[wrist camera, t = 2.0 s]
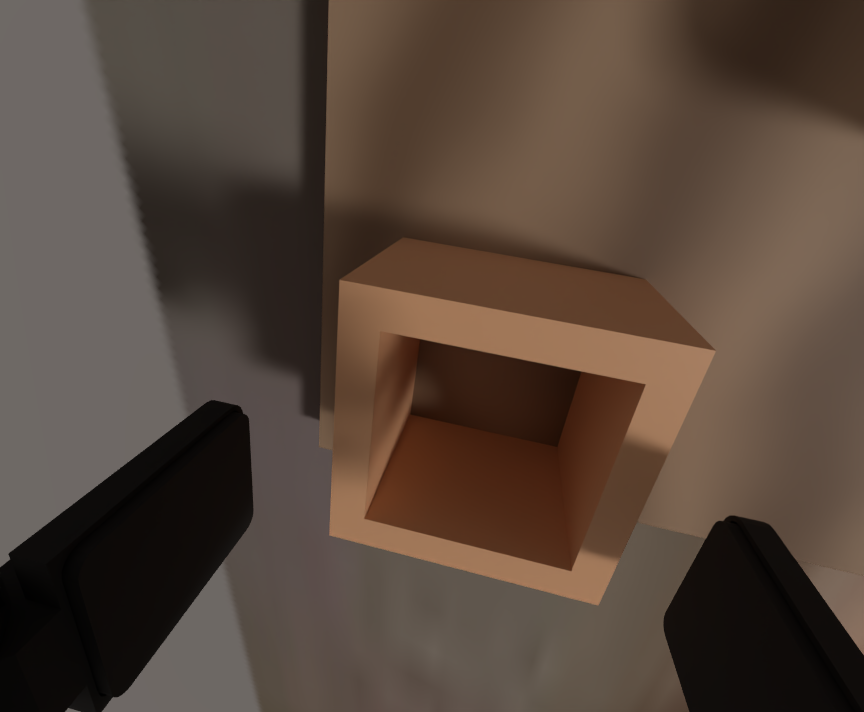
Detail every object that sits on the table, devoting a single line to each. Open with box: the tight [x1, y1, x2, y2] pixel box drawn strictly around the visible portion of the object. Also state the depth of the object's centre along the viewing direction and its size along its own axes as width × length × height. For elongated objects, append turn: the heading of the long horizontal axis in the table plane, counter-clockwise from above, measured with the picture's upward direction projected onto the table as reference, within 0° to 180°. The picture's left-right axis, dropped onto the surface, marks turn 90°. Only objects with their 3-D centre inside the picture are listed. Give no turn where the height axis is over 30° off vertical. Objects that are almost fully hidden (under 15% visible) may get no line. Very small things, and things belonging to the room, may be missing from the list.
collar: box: [330, 237, 716, 605], centre depth 12 cm, size 7×7×5 cm
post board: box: [319, 0, 864, 576], centre depth 9 cm, size 20×20×8 cm
